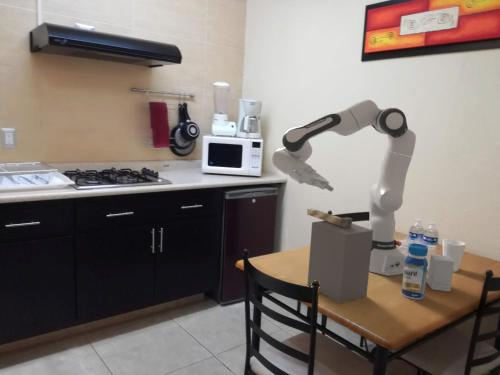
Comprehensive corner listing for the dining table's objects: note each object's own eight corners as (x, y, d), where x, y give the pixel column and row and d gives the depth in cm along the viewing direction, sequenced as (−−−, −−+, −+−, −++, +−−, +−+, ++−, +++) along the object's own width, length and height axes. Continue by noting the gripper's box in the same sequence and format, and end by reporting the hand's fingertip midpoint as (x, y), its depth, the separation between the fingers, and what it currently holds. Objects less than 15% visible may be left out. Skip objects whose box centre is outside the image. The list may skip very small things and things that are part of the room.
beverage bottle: (429, 299, 149) (435, 248, 145) (410, 301, 146) (416, 250, 143) (414, 289, 157) (420, 241, 153) (396, 291, 154) (401, 242, 151)
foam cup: (464, 269, 182) (468, 242, 180) (458, 274, 176) (462, 246, 173) (442, 263, 189) (446, 237, 186) (436, 268, 182) (439, 241, 180)
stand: (307, 285, 157) (312, 222, 152) (333, 279, 164) (338, 218, 160) (339, 303, 142) (345, 234, 137) (366, 296, 149) (373, 230, 145)
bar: (305, 214, 163) (306, 207, 163) (312, 213, 165) (313, 206, 165) (343, 228, 145) (344, 219, 144) (351, 226, 147) (352, 218, 146)
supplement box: (450, 292, 156) (454, 261, 154) (430, 289, 158) (434, 259, 156) (445, 284, 164) (449, 255, 161) (426, 282, 165) (430, 253, 163)
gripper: (295, 163, 160) (322, 179, 153) (315, 169, 178) (340, 184, 171) (288, 176, 162) (314, 193, 155) (308, 181, 179) (333, 197, 172)
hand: (328, 189), depth 163 cm, fingers open, 8 cm apart
